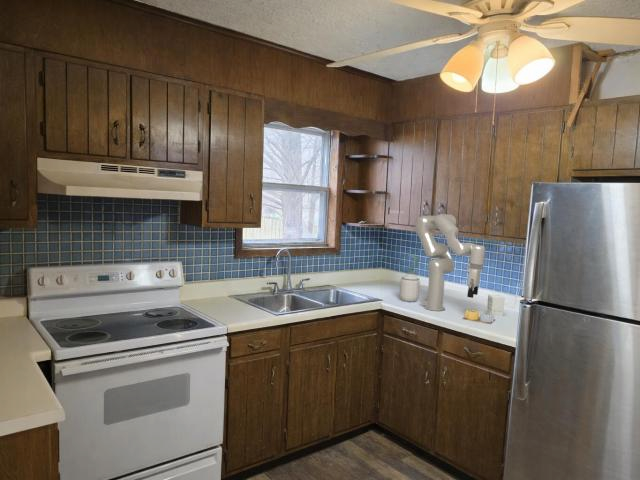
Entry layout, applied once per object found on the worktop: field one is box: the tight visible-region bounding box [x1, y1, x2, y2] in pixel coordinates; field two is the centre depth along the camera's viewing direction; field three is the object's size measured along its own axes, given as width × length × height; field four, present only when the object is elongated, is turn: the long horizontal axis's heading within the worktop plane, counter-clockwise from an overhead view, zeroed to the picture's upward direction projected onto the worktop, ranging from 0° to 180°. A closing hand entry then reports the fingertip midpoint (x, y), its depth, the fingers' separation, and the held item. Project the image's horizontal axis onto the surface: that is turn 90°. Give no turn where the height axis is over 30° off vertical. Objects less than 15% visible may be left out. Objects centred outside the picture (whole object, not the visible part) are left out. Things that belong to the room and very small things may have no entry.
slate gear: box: [479, 311, 495, 323], centre depth 266 cm, size 7×7×4 cm
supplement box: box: [486, 294, 505, 318], centre depth 280 cm, size 7×7×13 cm
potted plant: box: [399, 253, 421, 303], centre depth 312 cm, size 12×12×31 cm
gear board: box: [461, 310, 496, 325], centre depth 268 cm, size 16×13×7 cm
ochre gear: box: [464, 309, 480, 320], centre depth 270 cm, size 7×7×4 cm
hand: (472, 295), depth 270 cm, fingers open, 9 cm apart
